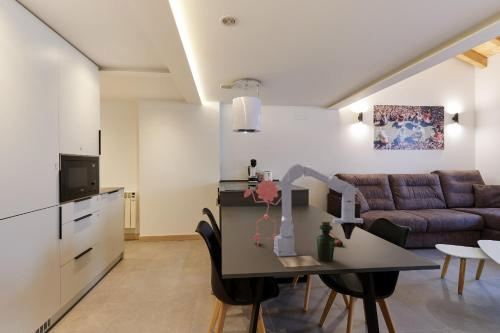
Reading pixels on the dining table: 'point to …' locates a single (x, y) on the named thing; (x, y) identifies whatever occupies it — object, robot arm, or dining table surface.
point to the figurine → (265, 200)
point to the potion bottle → (325, 243)
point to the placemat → (298, 261)
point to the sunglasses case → (336, 241)
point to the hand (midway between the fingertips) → (347, 238)
